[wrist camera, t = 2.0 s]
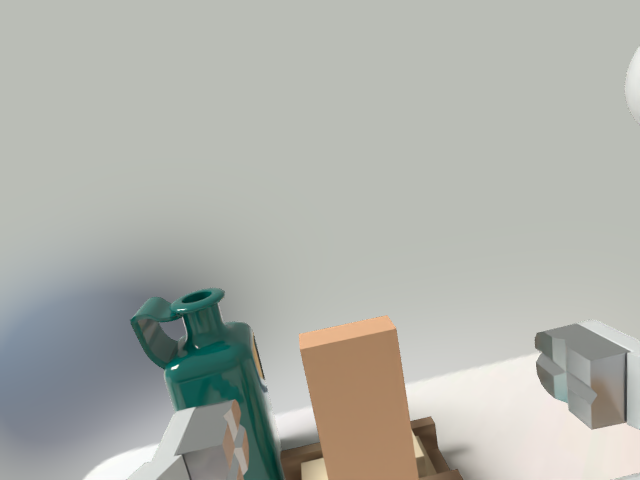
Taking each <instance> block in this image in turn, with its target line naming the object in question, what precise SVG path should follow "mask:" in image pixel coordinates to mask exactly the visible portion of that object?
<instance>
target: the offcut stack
mask: <svg viewBox="0 0 640 480" xmlns="http://www.w3.org/2000/svg"><path fill="white" fill-rule="evenodd" d="M411 430H412V429H411ZM412 437H413V444H414V450H415V457H416V464H417V470H418V477H419V478H422V477H427V476H431V475H435V474H437V473H436V471H435V469H434V466H433V464H432V462H431V460H430V458H429V456H428V454H427V452H426V450H425V448H424V446H423V444H422V442H421V440H420V438H419V436H414V433H413V431H412ZM301 472H302V480H328V476H327V471H326V467H325V462H324V458H321V459H316V460H312V461H308V462H304V463H301Z"/></svg>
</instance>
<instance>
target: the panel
mask: <svg viewBox="0 0 640 480" xmlns="http://www.w3.org/2000/svg"><path fill="white" fill-rule="evenodd" d="M299 342H300V352H301V356H302V361H303V365H304V370H305V375H306V379H307V384H308V388H309V393H310V398H311V402H312V407H313V412H314V416H315V421H316V425H317V430H318V435H319V439H320V444H321V448H322V453H323V458H324V462H325V467H326V471H327V476H328V480H419V477H418V470H417V464H416V457H415V450H414V444H413V437H412V430H411V423H410V417H409V410H408V403H407V397H406V390H405V383H404V377H403V370H402V363H401V357H400V350H399V343H398V337H397V330H396V327H395V326H394V325H393V323H392V322H391V320H390V319H389V317H388V316H381V317H376V318H372V319H367V320H363V321H358V322H354V323H349V324H344V325H340V326H335V327H330V328H326V329H321V330H316V331H312V332H307V333H302V334H299Z"/></svg>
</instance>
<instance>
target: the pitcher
mask: <svg viewBox="0 0 640 480" xmlns="http://www.w3.org/2000/svg"><path fill="white" fill-rule="evenodd" d="M224 296H225V291H223V290H222V289H220V288H219V289H218V288H208V289H202V290H198V291H194V292H191V293H188V294H186V295H184V296H182V297H180V298H178V299H177V300H175V301H174V302H172V303H169V302H167V301H166V300H164V299H163V298H160V297H152V298H149V299H148V300H147V301H146V302H145V303H144V304H143V305H142V307H141V308H140V309H139V310H138V311H137V313H136V314H135V315H134V316H133V318H132V319H131V325H132V327H133V329H134V331H135V333H136V335H137V338H138V340H139V342H140V344H141V346H142V348H143V349H144V351H145V353H146V354H147V356H148V357H149V358H150V359H151V360H152V361H153V362H154V363H155V364H157V365H158V366H159V367H161V368H163V369H164V380H165V383H166V386H167V389H168V392H169V396H170V399H171V402H172V405H173V408H174V411H175V413H176V412H177V411H180V410H184V409H188V408H193V407H198V406H203V405H208V404H213V403H218V402H223V401H228V400H233V399H235V400H236V401H237V402H238V404H239V408H240V411H241V417H240V422H239V424H240V425H242V426H243V427H244V428H245V430H246V434H247V438H248V445H249V464H248V470H247V471H246V473H245V474H244V475H243V478H244V480H285V477H284V473H283V469H282V465H281V461H280V451H282V449H281V442H280V438H279V434H278V430H277V426H276V422H275V418H274V414H273V410H272V405H271V401H270V397H269V394H268V389H267V385H266V381H265V377H264V373H263V369H262V365H261V361H260V357H259V353H258V349H257V344H256V341H255V336H254V333H253V330H252V329H251V327H250V326H249V325H248V324H246V323H244V322H239V321H234V322H227V323H224V321H223V318H222V314H221V310H220V307H219V302H220V301H221V300H222V299H223V298H224ZM181 317H182V318H183V322H184V325H185V329H186V333H187V334H186V335H185V336H183V337H181V338H180V339H179V340H178V341H175V340H173V339H171V338H169V337H168V336H167V335H166V334H165V333H164V331H163V330H162V328H161V327H160V325H159V322H169V321H173V320H177V319H179V318H181Z"/></svg>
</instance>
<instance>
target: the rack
mask: <svg viewBox="0 0 640 480" xmlns="http://www.w3.org/2000/svg"><path fill="white" fill-rule="evenodd" d="M410 423H411V429H412V431H413V433H414V436H419V438H420V440H421V442H422V444H423V446H424V448H425V450H426V452H427V454H428V456H429V458H430V460H431V462H432V464H433V466H434V469H435V471H436V473H437V474H435V475H431V476H427V477H422V478H419V480H463V478H462V477H461V475H460V473H459V471H458V469H456V470H451V471H450V469H449V467H448V465H447V463H446V462H445V460H444V458H443V456H442V454H441V452H440V451H439V449H438V444H437V436H436V429H435V423H434V421H433V419H432V418H431V417H427V418H422V419H418V420H414V421H410ZM321 458H323V453H322V448H321V444H320V442H319V443H315V444H310V445H306V446H302V447H297V448H293V449H289V450H284V451H280V461H281V465H282V469H283V473H284V477H285V480H302V472H301V463H304V462H308V461H312V460H316V459H321Z"/></svg>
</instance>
